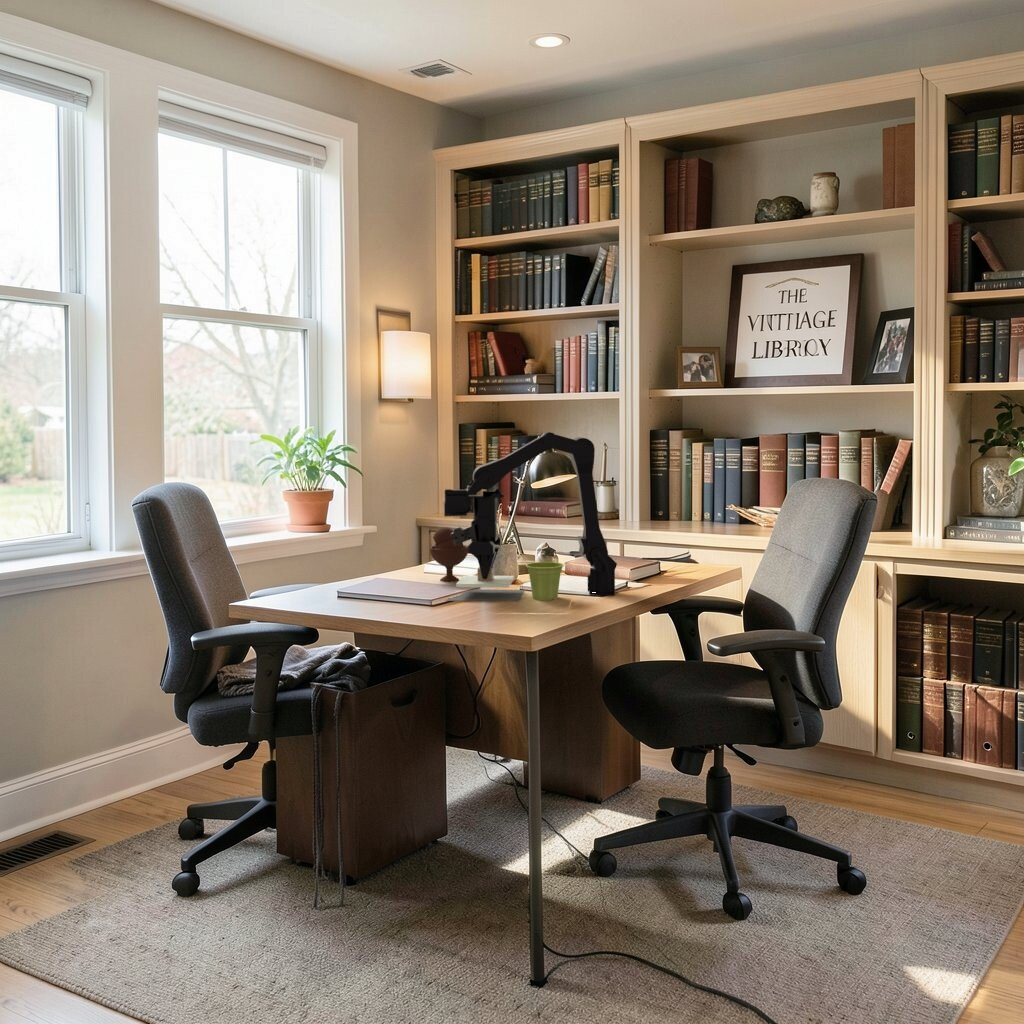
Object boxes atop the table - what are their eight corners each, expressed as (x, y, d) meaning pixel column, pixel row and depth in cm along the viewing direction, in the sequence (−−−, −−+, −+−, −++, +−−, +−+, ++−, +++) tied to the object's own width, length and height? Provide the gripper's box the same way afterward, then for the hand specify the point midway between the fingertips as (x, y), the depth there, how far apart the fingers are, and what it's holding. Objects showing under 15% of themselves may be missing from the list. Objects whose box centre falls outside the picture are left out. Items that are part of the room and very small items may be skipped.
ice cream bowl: (464, 585, 288) (464, 529, 286) (424, 584, 290) (423, 528, 288) (474, 578, 298) (473, 524, 297) (435, 577, 300) (434, 524, 299)
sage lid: (514, 578, 276) (514, 564, 276) (508, 587, 263) (508, 572, 263) (464, 578, 278) (463, 563, 277) (456, 587, 265) (455, 571, 264)
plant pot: (523, 602, 262) (523, 567, 261) (528, 595, 272) (528, 561, 271) (561, 603, 261) (561, 567, 260) (565, 596, 270) (565, 562, 269)
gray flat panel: (524, 591, 278) (524, 589, 278) (518, 602, 262) (518, 601, 262) (456, 590, 280) (455, 589, 280) (445, 601, 264) (445, 600, 264)
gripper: (458, 512, 279) (459, 571, 280) (446, 519, 260) (447, 583, 262) (501, 512, 278) (502, 571, 279) (492, 519, 259) (493, 583, 261)
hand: (485, 577), depth 270 cm, fingers closed on sage lid, 4 cm apart
